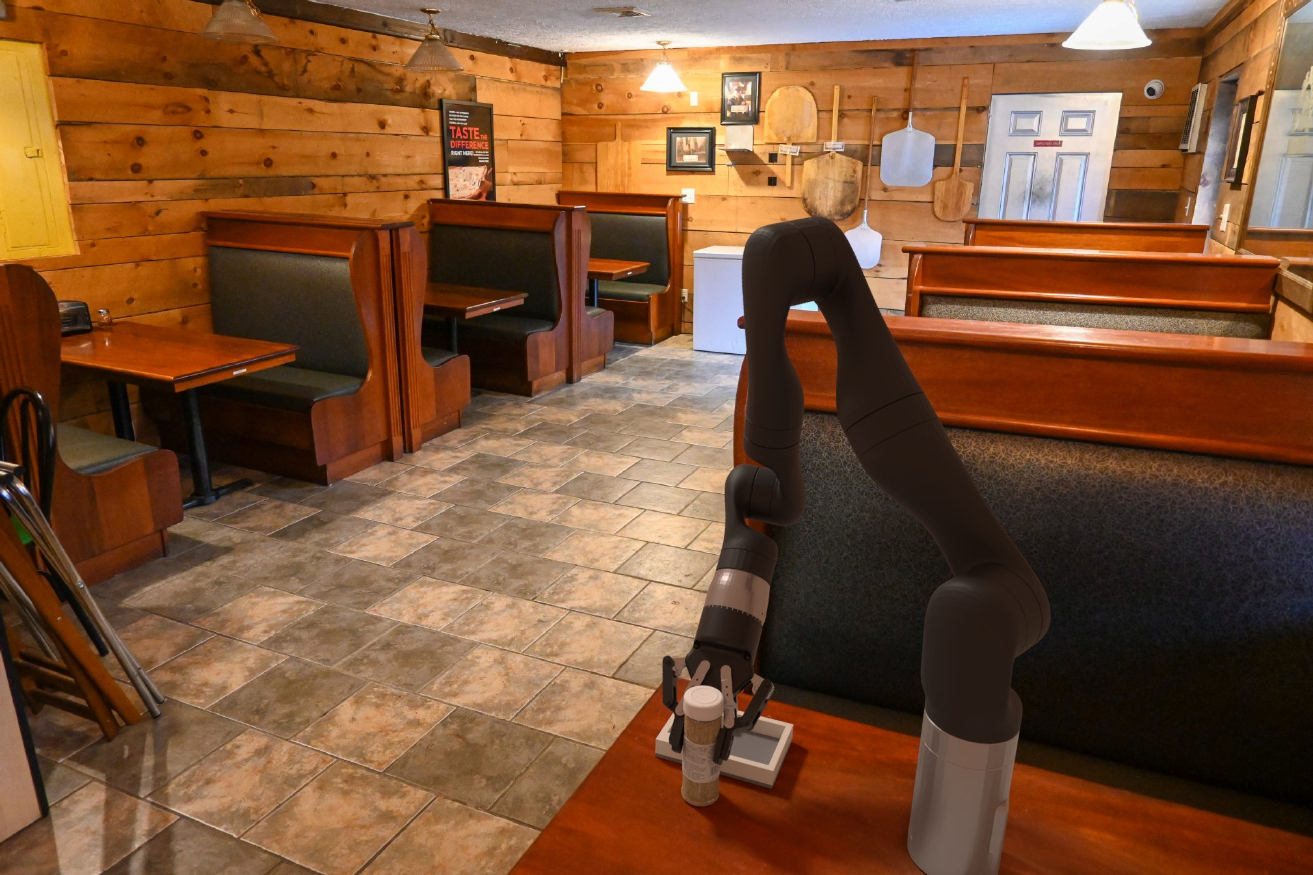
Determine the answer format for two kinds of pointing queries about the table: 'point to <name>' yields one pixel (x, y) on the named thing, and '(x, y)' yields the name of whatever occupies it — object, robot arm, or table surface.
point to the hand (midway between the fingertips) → (696, 756)
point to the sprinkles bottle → (701, 744)
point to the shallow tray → (744, 750)
